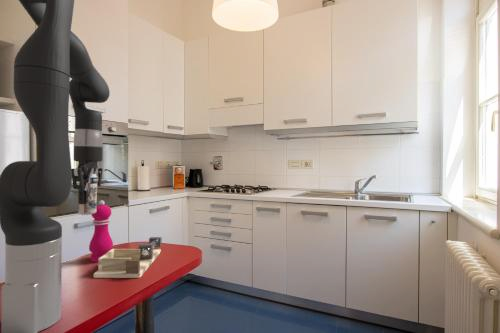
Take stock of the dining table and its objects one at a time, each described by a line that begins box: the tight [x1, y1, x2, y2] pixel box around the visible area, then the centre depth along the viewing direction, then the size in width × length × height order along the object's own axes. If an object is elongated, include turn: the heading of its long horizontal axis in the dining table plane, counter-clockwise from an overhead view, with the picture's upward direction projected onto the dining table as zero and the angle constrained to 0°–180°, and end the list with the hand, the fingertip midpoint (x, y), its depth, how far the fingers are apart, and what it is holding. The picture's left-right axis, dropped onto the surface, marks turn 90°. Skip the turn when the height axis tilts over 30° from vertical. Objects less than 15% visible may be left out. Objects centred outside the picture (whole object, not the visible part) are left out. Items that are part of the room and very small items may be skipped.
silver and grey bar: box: [141, 236, 162, 257], centre depth 100 cm, size 14×4×3 cm, turn 3°
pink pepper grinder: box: [88, 200, 114, 263], centre depth 96 cm, size 7×7×20 cm
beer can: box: [78, 174, 98, 216], centre depth 85 cm, size 5×5×12 cm
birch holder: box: [93, 243, 162, 279], centre depth 93 cm, size 23×13×6 cm, turn 3°
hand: (87, 202), depth 85 cm, fingers closed on beer can, 4 cm apart
